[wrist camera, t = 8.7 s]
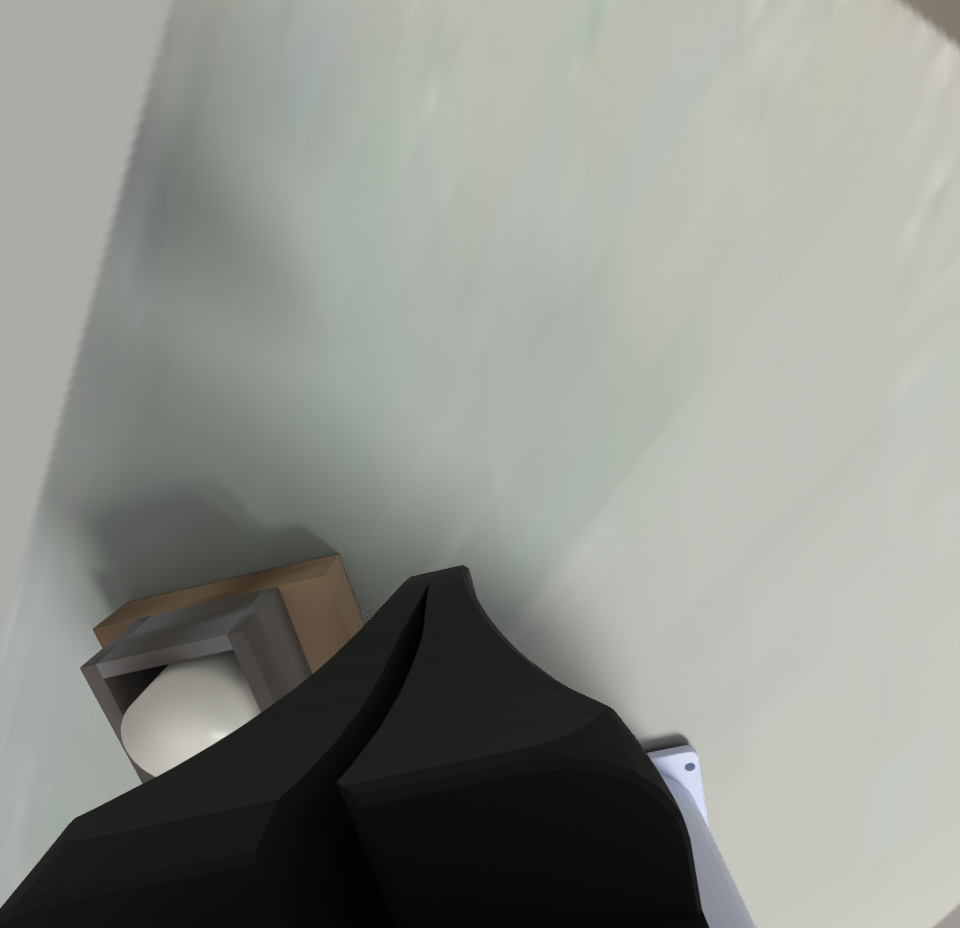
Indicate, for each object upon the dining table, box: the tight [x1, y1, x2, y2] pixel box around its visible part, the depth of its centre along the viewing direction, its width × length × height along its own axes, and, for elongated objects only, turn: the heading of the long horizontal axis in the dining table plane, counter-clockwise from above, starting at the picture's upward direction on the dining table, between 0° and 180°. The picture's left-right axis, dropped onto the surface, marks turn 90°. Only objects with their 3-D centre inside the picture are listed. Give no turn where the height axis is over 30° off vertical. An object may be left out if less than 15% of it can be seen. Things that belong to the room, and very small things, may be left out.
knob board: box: [80, 554, 364, 784], centre depth 21 cm, size 10×18×5 cm, turn 14°
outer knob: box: [121, 650, 261, 777], centre depth 18 cm, size 4×4×4 cm
